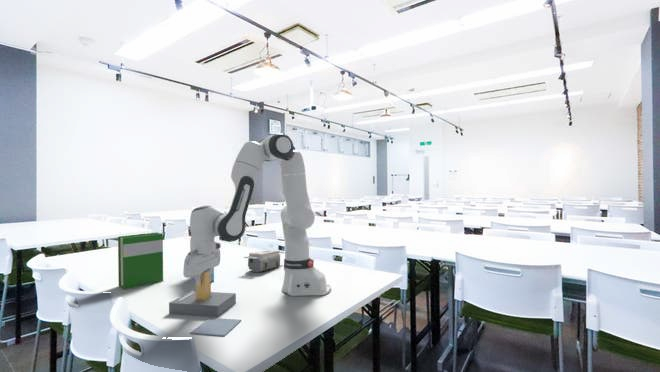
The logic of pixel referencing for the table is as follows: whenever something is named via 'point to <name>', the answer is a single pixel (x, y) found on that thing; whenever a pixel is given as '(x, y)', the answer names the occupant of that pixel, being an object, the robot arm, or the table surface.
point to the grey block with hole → (202, 304)
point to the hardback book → (140, 259)
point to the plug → (204, 286)
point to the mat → (216, 327)
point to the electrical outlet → (263, 260)
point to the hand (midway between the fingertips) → (203, 282)
